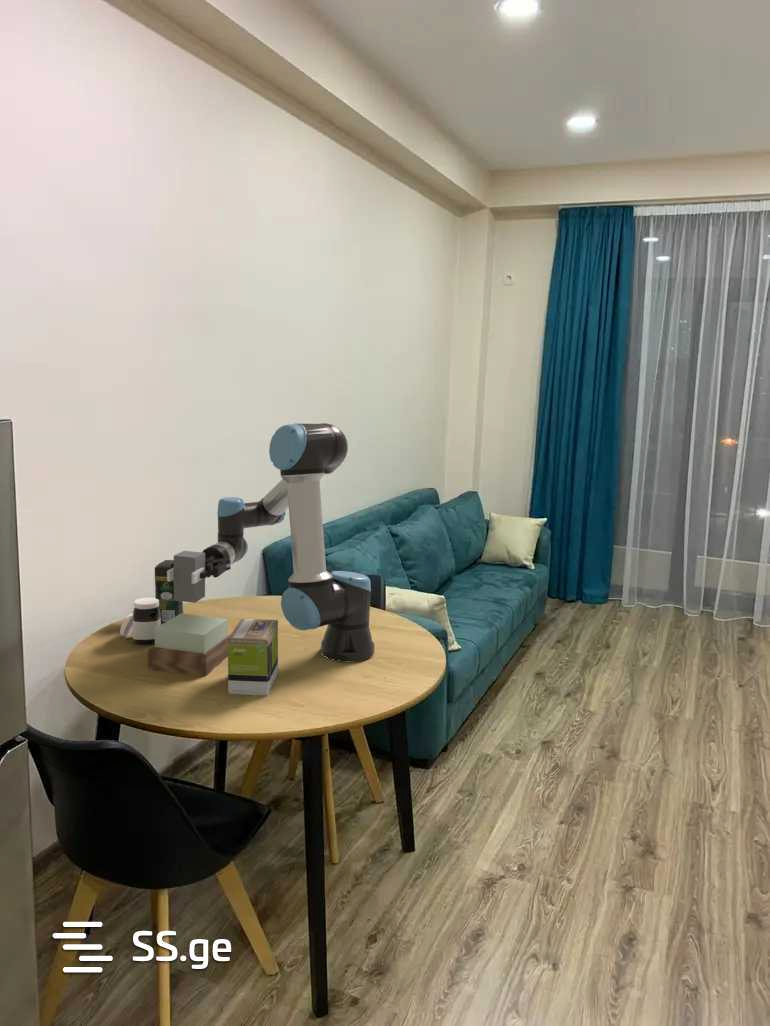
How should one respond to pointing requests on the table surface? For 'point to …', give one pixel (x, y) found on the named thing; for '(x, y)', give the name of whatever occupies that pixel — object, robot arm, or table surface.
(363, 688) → the table surface
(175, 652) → the walnut block
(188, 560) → the gray block
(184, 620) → the sage block
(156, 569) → the coffee jar
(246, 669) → the tea box
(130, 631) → the spread jar
